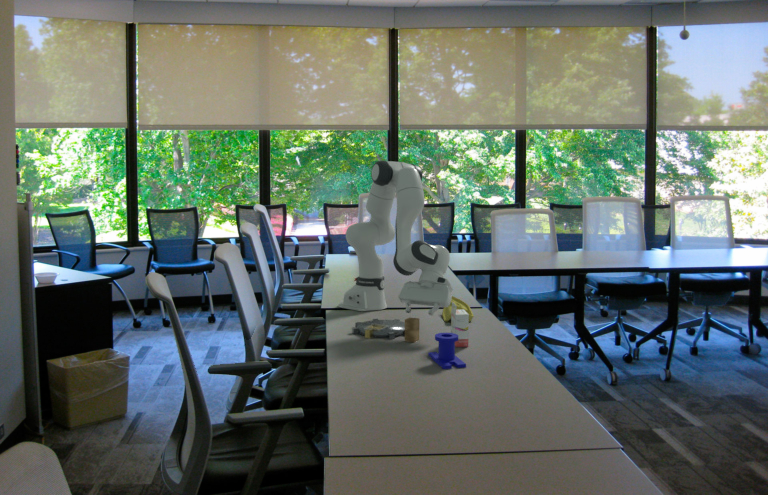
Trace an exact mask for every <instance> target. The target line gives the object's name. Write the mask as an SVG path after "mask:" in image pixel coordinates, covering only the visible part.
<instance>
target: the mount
mask: <svg viewBox="0 0 768 495" xmlns="http://www.w3.org/2000/svg"><path fill="white" fill-rule="evenodd" d="M434 340H435V341H436V342H438V351H433V352H431V351H428V353H427V354H428V355H429V356H430V357H431V358H430V357H429V356H428V357H429V358H430V359H431V360H432V361H433V362H435V363H436V364H437V365H438V366H439V367H440V366H441V367H442V368H441V367H440V368H441V369H442V370H450V369H452V367H453V366H454V367H456V369H462V368H467V363H465V361H463V360H462V359H461V358H459V357H458V356H457V355H456V351H455V350H456V347H455V342H456V341H458V335H457V334H454V333H451V332H439V333H436V334H435V335H434Z"/></svg>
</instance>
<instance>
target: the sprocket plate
mask: <svg viewBox="0 0 768 495" xmlns="http://www.w3.org/2000/svg"><path fill="white" fill-rule="evenodd" d="M354 325H355V327H351V330H352V331H351V332H352V334H353V335H357V334H358V335H361V336H364V338H365V339H372V338H376V339H377V338H378V339H382V338H383V339H386V338H387V339H389V340H392V339H394V340H395V338H397V337H402V336H405V321H400V319H398V318H395V319H378V318H372V319H371V320H367V321H363V322H362V321H356V322H355V324H354Z"/></svg>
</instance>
